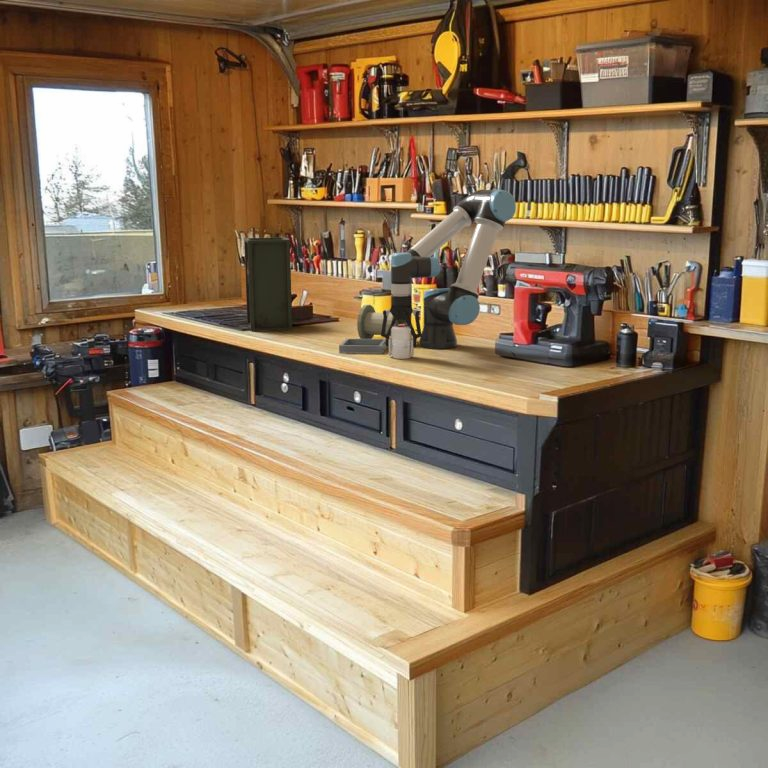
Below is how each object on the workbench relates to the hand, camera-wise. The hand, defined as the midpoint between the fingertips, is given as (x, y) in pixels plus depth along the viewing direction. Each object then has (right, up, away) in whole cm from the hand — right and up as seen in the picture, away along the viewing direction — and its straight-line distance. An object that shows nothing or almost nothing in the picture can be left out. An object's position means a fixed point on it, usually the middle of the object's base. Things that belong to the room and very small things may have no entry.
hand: (401, 355), depth 342 cm
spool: (-7, +6, +34) cm, 35 cm away
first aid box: (-59, +15, +74) cm, 95 cm away
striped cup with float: (0, -1, 0) cm, 1 cm away
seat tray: (-15, +3, +16) cm, 22 cm away
